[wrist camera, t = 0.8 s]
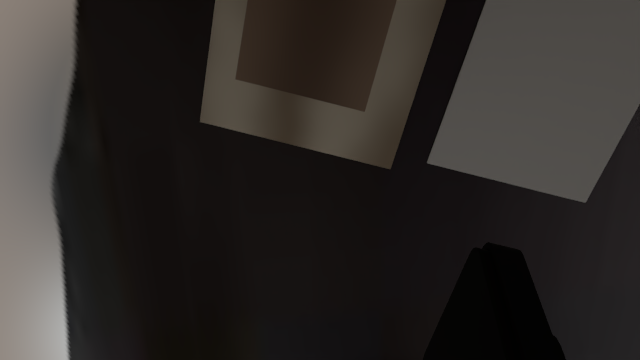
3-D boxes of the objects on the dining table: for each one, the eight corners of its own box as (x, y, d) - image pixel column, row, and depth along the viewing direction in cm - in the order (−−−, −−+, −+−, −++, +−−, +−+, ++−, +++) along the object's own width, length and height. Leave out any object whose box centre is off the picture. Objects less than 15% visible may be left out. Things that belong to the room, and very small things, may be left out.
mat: (713, -35, 27) (715, -34, 27) (584, 201, 34) (585, 202, 34) (517, -86, 27) (517, -86, 27) (426, 162, 34) (426, 163, 34)
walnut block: (399, -47, 28) (403, -25, 22) (368, 65, 31) (364, 111, 25) (284, -77, 28) (257, -62, 22) (264, 38, 31) (235, 79, 25)
